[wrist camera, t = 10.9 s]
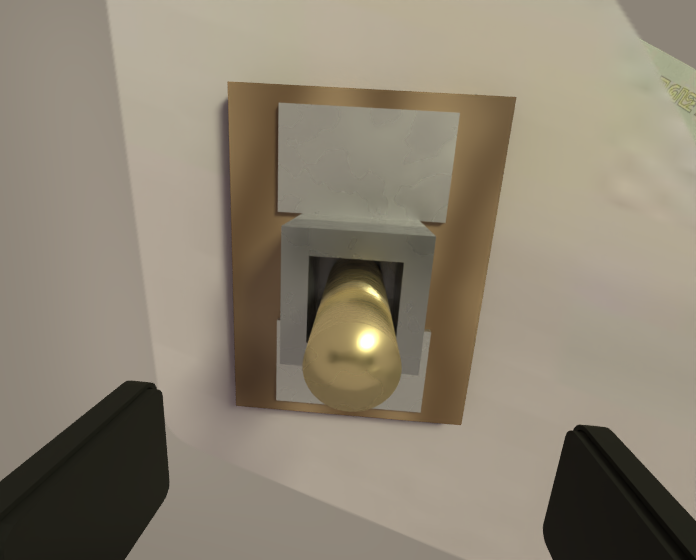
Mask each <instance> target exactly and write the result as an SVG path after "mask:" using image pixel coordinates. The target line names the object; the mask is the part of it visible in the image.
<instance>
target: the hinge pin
mask: <svg viewBox="0 0 696 560" xmlns="http://www.w3.org/2000/svg"><path fill="white" fill-rule="evenodd" d="M302 370H303V376H304V379H305V382H306V384H307V386H308V388H309V390H310V391H311V392H312V394H313V395H314V396H315V397H316V398H317V399H318V400H319V401H321V402H322V403H324V404H325V405H327V406H329V407H331V408H334V409H337V410H341V411H347V412H358V411H364V410H368V409H371V408H374V407H376V406H378V405H380V404H381V403H383V402H384V401H385V400H387V399H388V398H389V397H390V396H391V395H392V393H393V392H394V391H395V389H396V387H397V386H398V383H399V381H400V377H401V370H402V365H401V358H400V354H399V349H398V345H397V340H396V336H395V331H394V326H393V322H392V317H391V313H390V308H389V303H388V299H387V294H386V290H385V285H384V281H383V276H382V273H381V270H380V269H379V267H378V266H377V264H376V263H375V262H373V261H372V260H361V259H346V258H342V259H340V260H339V261H338V262H337V263H335V265H334V266H333V267H332V269H331V271H330V273H329V276H328V279H327V282H326V286H325V289H324V292H323V295H322V299H321V302H320V305H319V308H318V312H317V315H316V318H315V321H314V325H313V328H312V331H311V334H310V337H309V341H308V344H307V347H306V350H305V354H304V357H303V364H302Z"/></svg>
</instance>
